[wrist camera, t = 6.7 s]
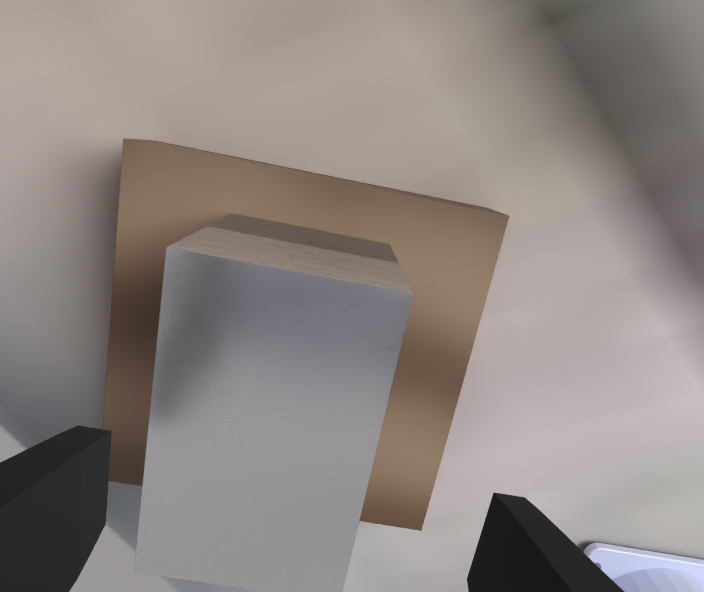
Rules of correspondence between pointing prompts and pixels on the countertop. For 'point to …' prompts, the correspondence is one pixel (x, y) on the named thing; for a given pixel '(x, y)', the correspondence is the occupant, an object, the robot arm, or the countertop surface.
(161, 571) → the block
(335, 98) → the countertop surface
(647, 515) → the countertop surface
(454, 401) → the stand
